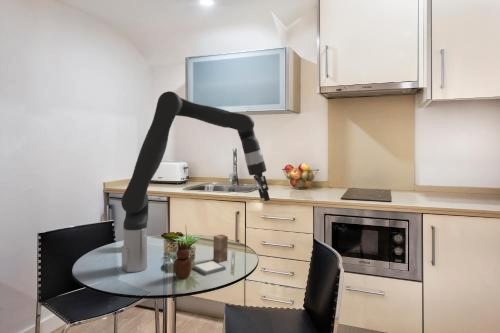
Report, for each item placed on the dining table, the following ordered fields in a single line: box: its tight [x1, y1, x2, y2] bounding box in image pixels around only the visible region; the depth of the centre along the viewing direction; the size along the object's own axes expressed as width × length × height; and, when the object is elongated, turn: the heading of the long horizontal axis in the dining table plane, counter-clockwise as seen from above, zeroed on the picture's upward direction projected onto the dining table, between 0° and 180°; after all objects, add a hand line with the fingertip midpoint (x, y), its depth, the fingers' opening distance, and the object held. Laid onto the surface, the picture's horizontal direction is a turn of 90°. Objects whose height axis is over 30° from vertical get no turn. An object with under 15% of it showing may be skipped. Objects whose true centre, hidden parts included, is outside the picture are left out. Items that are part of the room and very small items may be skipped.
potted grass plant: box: [173, 239, 193, 279], centre depth 136 cm, size 7×6×15 cm
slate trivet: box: [192, 260, 227, 276], centre depth 145 cm, size 10×10×1 cm
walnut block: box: [212, 234, 229, 264], centre depth 156 cm, size 4×4×11 cm
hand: (265, 199), depth 146 cm, fingers open, 8 cm apart
